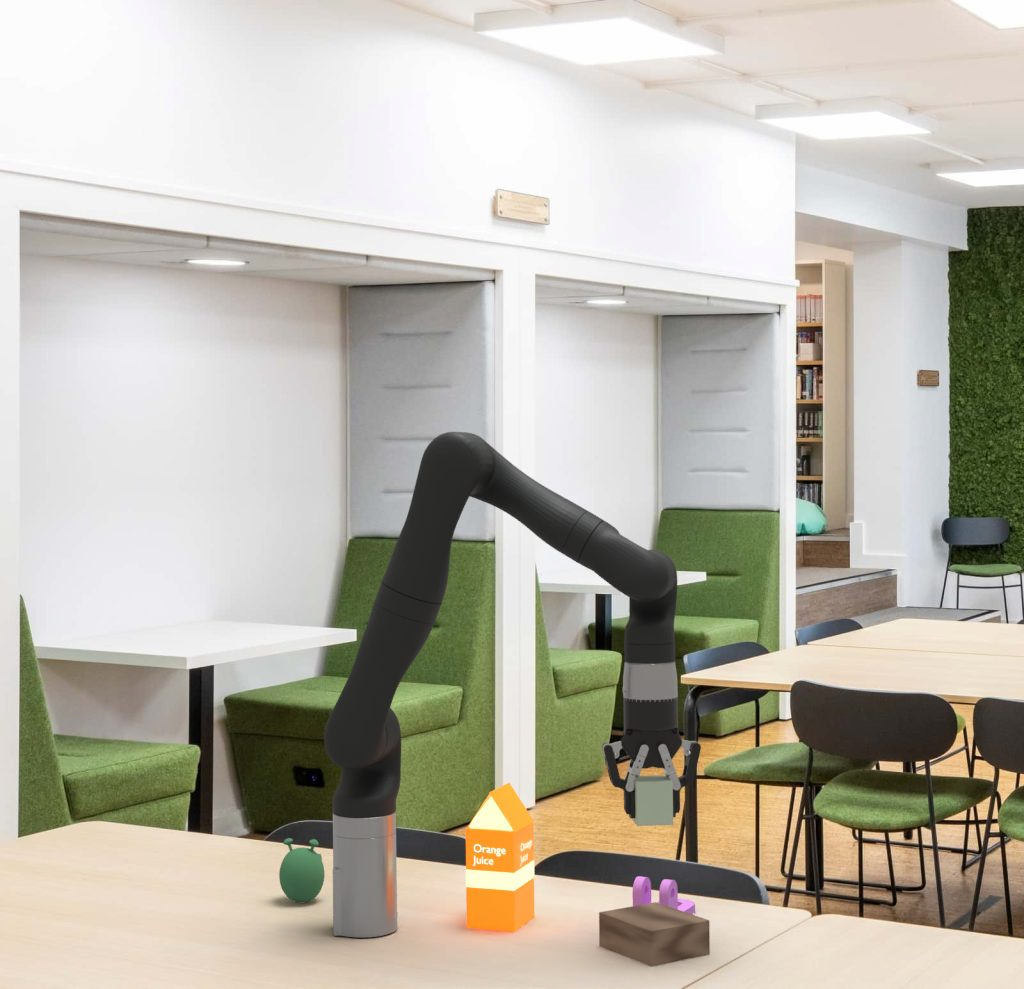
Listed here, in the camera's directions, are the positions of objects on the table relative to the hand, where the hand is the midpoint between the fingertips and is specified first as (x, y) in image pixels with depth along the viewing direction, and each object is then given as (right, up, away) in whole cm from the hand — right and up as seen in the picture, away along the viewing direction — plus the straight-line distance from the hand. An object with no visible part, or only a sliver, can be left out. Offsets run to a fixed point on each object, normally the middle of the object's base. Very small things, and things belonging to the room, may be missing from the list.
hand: (652, 816), depth 225 cm
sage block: (0, -1, 0) cm, 1 cm away
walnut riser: (0, -19, 0) cm, 19 cm away
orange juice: (-21, -19, +16) cm, 32 cm away
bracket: (+4, -19, +17) cm, 26 cm away
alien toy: (-52, -19, +29) cm, 63 cm away
